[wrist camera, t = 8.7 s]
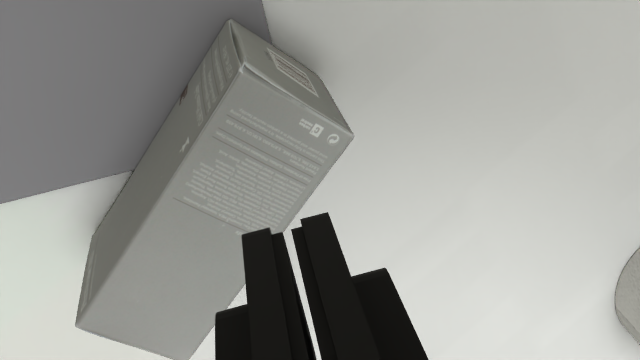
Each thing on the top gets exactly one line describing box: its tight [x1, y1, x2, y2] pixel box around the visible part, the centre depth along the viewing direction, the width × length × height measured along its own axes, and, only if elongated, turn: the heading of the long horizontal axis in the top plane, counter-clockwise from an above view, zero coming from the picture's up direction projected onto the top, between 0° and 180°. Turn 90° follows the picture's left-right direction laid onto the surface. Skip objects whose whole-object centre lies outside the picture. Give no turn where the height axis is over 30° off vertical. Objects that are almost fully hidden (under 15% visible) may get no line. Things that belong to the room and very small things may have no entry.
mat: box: [0, 0, 272, 204], centre depth 32 cm, size 18×13×1 cm
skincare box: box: [75, 19, 354, 360], centre depth 32 cm, size 8×7×16 cm
